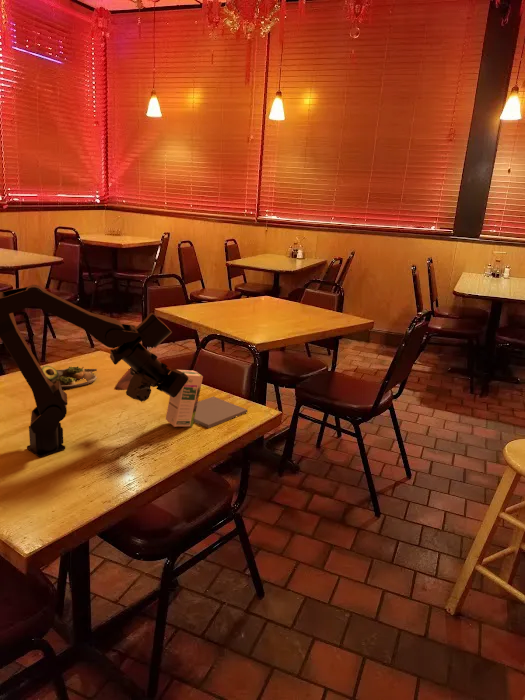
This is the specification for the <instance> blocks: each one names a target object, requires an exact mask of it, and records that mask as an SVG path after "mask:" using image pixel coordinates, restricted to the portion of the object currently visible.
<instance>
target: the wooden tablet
mask: <svg viewBox="0 0 525 700" xmlns="http://www.w3.org/2000/svg"><path fill="white" fill-rule="evenodd" d="M129 368H130V367H129ZM129 368H127V370H128V371H126V372H124V374H123V375H122V376H121V378H120V379H119V380H118V382H117V383H116V385H115V389H116V390H118V391H127V388H128V386H129V383H130V380H131V378H132V377H133V376H132V375H131V374H130V369H131V368H130V369H129Z"/></svg>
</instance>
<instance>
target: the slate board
mask: <svg viewBox="0 0 525 700" xmlns="http://www.w3.org/2000/svg"><path fill="white" fill-rule="evenodd" d="M246 412H247V413H248V409H247V408H244V407H242V406H239V405H236V404H234V403H231V402H229V401H226V400H223V399H221V398H218V397H216V396H215V395H214V396H211V397H207V398H204V399H202V400H198V403H197V408H196V413H195V418H194V423H196V424H198V425H200V426H202V427H205V428H206V429H209V428H213V427H216V426H217V425H220V424H222V423H225V421H226V422H227V421H230V419H231V420H233V419H235V418H234V417H236V416H238V417H240V416H239V415H241V414H243V415H245V414H244V413H246ZM247 413H246V414H247ZM241 416H242V415H241ZM232 418H233V419H232ZM236 418H237V417H236Z"/></svg>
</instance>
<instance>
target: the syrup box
mask: <svg viewBox="0 0 525 700" xmlns="http://www.w3.org/2000/svg"><path fill="white" fill-rule="evenodd" d="M177 370H178V371H181V372H183V373H185V374H186V375H187V376H188V381H187V382H186V383H185V385H184V386H183V388H182V389H181V390H180V392H179V393H178V394H177V396H176V397H174V398H173V397H171V396H169V399H168V403H167V409H166V410H167V411H166V414H165V415H166V416H165V420H166V421H167V422H168V423H169V424H170V425H172V427H174V428H175V427H176V428H177V427H193V426H194V423H195V422H194V418H195V413H196V408H197V403H198V402H199V399H200V393H201V388H202V384H203V378H204V376H203V375H202V374H200V373H199V372H198V371H195V370H187V369H177Z"/></svg>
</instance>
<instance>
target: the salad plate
mask: <svg viewBox="0 0 525 700" xmlns="http://www.w3.org/2000/svg"><path fill="white" fill-rule="evenodd" d="M41 368H42V370H43V372H44V373H45V375H46V377H47V378H48V380H50V381H51V382H52V383H53V384H55V383H56V382H58V381H59V382H60V385H61V388H62V389H64V390H69V389H70V388H71V389H74V387H75V388H79V387H83V386H86V385H89V383H90V384H92V383H94V382H95V381H96V380H97V379H98V377H97V376H96V374H93V372H97V370H98V369H97V368H84V366H82V367H79V366H68V367H66V368H63V369H56V368H54V367H53V366H51V365H45V366H42V367H41ZM83 378H84V379H86V380H85V382H81V383H76V382H77V380H78V381H81V380H80V379H82V380H84V379H83ZM75 381H76V382H75ZM86 381H87V382H86Z"/></svg>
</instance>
